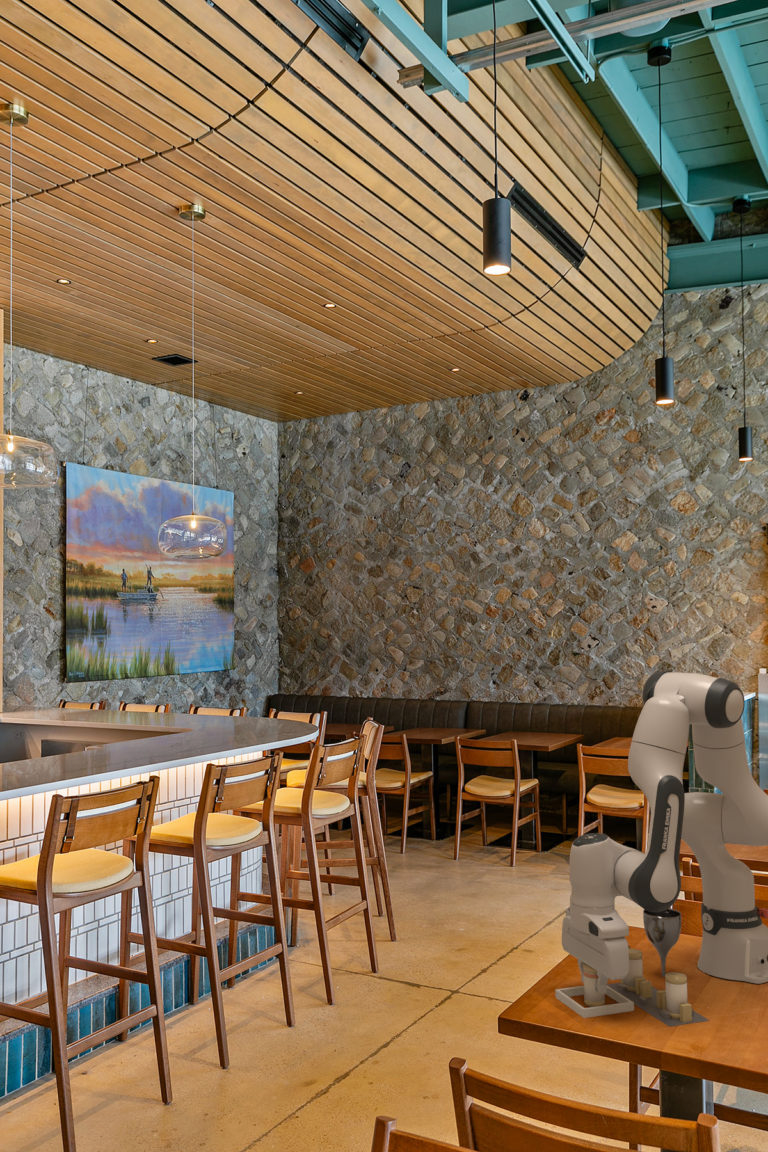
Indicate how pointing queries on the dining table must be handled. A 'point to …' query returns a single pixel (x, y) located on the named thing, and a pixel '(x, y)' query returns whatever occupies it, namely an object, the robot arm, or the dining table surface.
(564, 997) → the tray
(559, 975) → the dining table surface
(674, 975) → the fuse
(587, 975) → the marked fuse
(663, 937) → the wine glass
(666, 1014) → the fuse block
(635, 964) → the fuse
